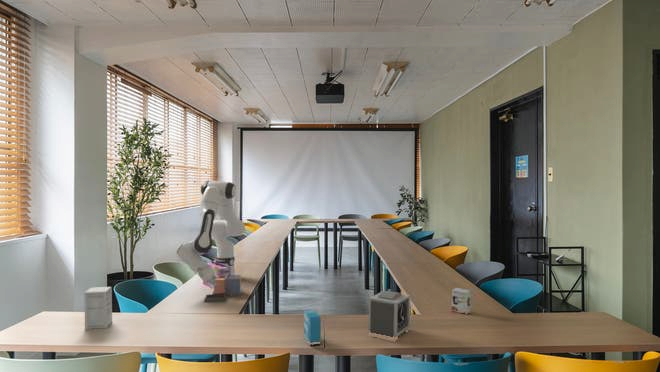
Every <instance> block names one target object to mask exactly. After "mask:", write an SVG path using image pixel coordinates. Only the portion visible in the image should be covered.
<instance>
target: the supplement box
mask: <svg viewBox="0 0 660 372" xmlns="http://www.w3.org/2000/svg"><path fill="white" fill-rule="evenodd" d="M112 288H113V287H112V286H98V287H95V286H94V287H90V288H89V289H87V290H86V291H84V293H83V294H84V297H83V298H84V330H89V329H90V330H91V329H92V328H95V329H107V328H108V327H109V326H110V325H111V323H113V303H112V302H113V298H112V297H113V296H112V295H113V292H112V291H113V289H112Z"/></svg>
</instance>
